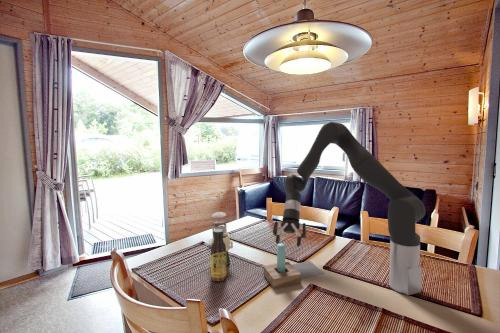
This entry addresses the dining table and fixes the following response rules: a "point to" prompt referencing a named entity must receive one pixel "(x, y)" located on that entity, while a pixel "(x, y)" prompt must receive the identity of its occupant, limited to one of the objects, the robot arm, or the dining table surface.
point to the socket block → (282, 275)
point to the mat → (307, 269)
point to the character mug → (227, 242)
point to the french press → (218, 222)
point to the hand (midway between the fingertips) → (287, 245)
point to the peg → (280, 258)
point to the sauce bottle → (218, 257)
